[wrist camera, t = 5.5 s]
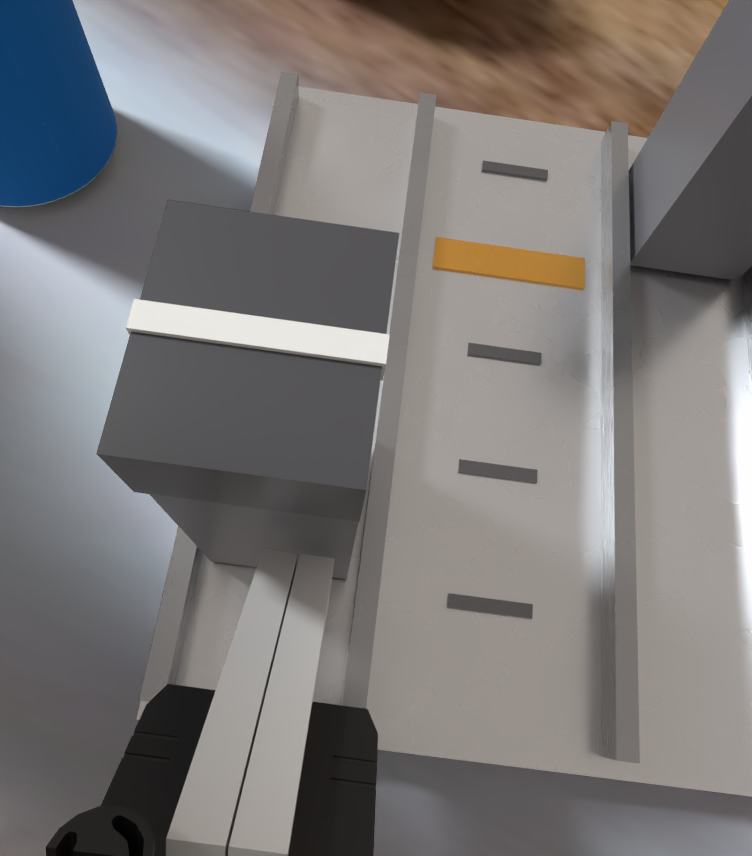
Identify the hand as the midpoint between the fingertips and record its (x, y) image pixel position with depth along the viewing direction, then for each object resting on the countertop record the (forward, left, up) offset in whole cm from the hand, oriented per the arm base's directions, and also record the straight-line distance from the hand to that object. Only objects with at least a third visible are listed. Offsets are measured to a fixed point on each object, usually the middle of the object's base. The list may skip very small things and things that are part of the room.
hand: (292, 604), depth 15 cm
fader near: (-1, +3, -4) cm, 5 cm away
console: (+5, +8, -6) cm, 11 cm away
